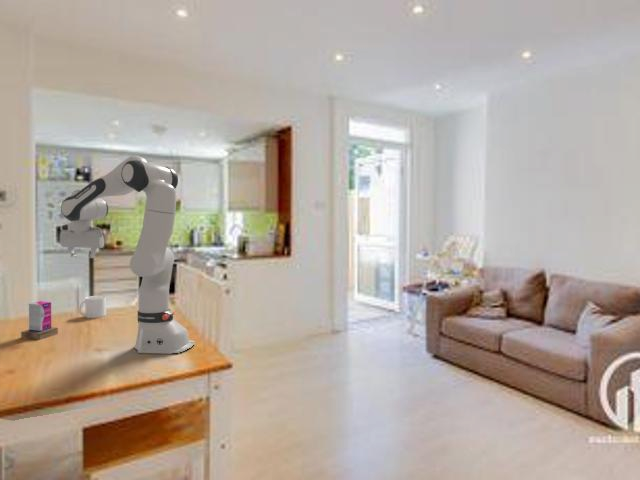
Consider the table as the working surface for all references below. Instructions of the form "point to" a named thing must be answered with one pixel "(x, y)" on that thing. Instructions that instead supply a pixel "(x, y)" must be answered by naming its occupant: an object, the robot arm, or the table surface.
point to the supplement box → (39, 316)
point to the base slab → (39, 333)
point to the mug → (94, 307)
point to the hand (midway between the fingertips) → (82, 257)
